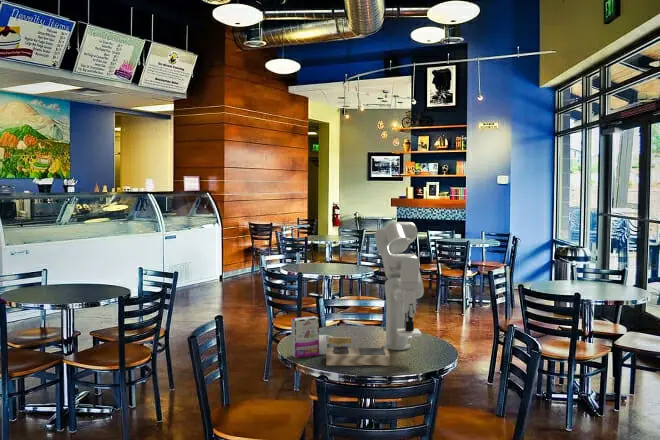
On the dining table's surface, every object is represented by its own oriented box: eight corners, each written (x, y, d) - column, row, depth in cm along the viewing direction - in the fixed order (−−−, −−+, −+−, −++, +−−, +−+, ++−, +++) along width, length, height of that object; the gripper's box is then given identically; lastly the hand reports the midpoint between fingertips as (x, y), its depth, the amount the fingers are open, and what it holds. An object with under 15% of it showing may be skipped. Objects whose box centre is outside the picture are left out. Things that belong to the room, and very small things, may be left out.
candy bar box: (314, 352, 259) (314, 315, 258) (319, 355, 255) (319, 317, 254) (290, 355, 254) (290, 317, 254) (295, 358, 250) (295, 320, 249)
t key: (350, 350, 264) (351, 336, 264) (351, 352, 260) (351, 338, 260) (328, 350, 264) (328, 336, 263) (328, 352, 260) (328, 338, 259)
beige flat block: (326, 365, 240) (326, 351, 240) (326, 357, 252) (326, 344, 252) (390, 365, 241) (390, 352, 240) (387, 357, 253) (387, 344, 252)
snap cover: (399, 336, 241) (399, 321, 241) (396, 331, 250) (396, 316, 250) (421, 336, 241) (421, 321, 241) (418, 331, 250) (418, 316, 250)
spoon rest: (306, 341, 279) (306, 326, 279) (331, 341, 280) (331, 326, 280) (310, 355, 256) (310, 339, 255) (337, 355, 257) (337, 338, 256)
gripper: (397, 283, 253) (397, 325, 254) (403, 288, 237) (402, 334, 238) (415, 283, 253) (414, 325, 254) (421, 288, 237) (421, 334, 238)
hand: (409, 329), depth 246 cm, fingers closed on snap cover, 3 cm apart
